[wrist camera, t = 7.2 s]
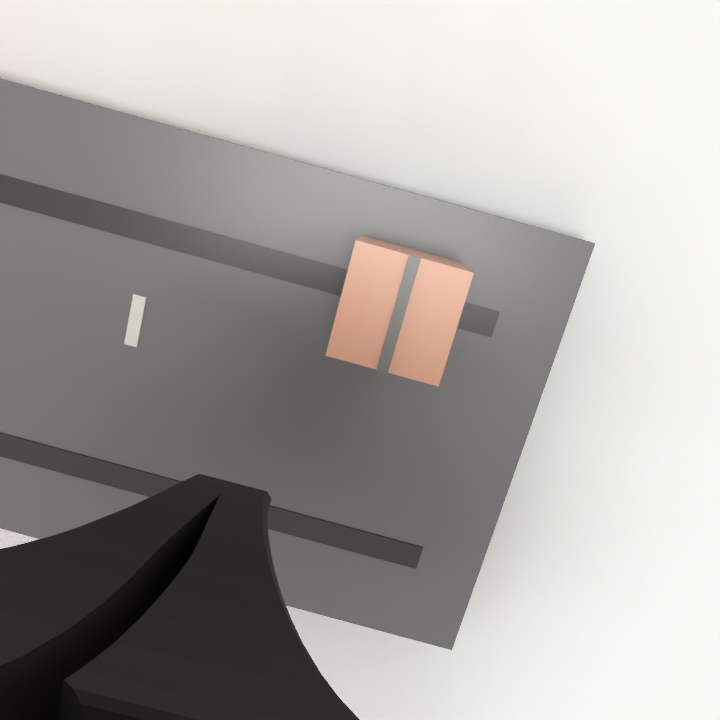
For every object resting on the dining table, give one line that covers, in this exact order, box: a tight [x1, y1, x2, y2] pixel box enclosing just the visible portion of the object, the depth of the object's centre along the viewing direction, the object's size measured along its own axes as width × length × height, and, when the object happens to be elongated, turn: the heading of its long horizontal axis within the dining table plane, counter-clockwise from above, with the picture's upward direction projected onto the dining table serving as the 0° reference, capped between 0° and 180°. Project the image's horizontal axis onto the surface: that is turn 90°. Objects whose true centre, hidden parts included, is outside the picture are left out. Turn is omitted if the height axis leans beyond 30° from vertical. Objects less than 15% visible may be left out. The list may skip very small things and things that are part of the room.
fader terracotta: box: [325, 235, 474, 387], centre depth 18 cm, size 3×3×3 cm
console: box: [0, 79, 595, 650], centre depth 21 cm, size 14×26×2 cm, turn 75°
